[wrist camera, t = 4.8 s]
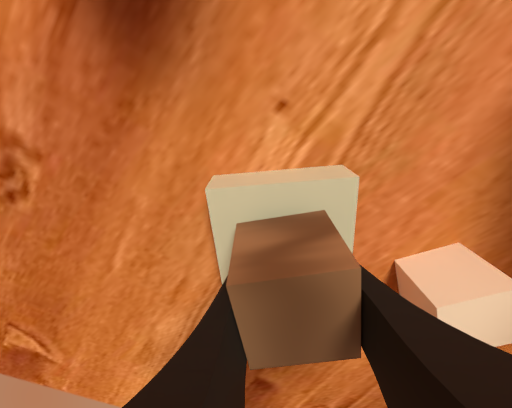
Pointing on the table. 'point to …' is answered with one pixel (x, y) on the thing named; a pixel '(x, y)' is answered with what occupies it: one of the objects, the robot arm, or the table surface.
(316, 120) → the table surface
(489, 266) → the cream cube
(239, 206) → the sage slab
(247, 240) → the walnut cube
